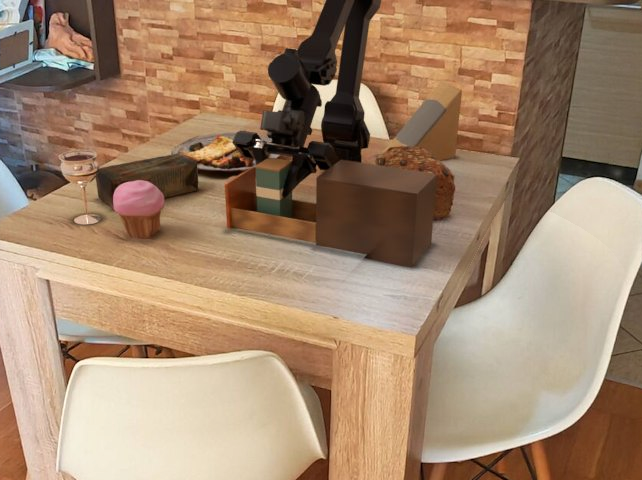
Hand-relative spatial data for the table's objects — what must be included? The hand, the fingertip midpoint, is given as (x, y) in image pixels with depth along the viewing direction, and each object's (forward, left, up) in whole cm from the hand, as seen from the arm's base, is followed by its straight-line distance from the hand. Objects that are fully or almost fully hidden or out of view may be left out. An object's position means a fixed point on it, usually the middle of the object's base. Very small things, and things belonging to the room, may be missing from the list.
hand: (270, 194), depth 145 cm
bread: (+4, +30, -7) cm, 31 cm away
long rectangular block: (-1, +1, -6) cm, 6 cm away
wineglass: (-24, -25, -7) cm, 36 cm away
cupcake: (-11, -20, -7) cm, 24 cm away
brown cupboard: (+16, +11, -7) cm, 21 cm away
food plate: (-39, +14, -7) cm, 42 cm away
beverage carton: (-29, -10, -7) cm, 32 cm away
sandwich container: (-17, +50, -7) cm, 53 cm away
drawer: (0, +2, -7) cm, 7 cm away
